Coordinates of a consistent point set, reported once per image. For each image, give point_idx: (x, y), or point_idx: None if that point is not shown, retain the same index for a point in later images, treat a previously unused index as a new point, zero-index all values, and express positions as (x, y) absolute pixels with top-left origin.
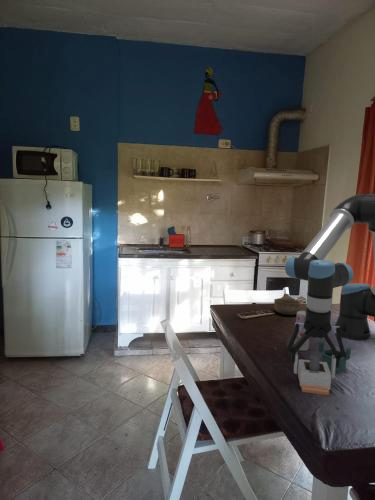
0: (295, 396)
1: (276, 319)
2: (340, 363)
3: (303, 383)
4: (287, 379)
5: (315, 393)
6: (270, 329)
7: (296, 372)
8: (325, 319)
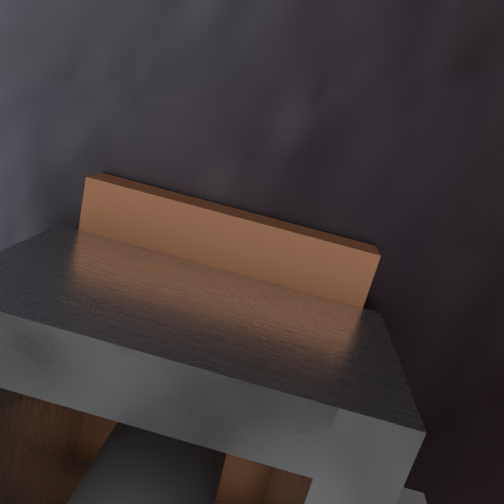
0: (497, 150)
1: None
2: None
3: (349, 318)
4: (428, 481)
5: (235, 208)
6: None
7: (401, 499)
8: None
